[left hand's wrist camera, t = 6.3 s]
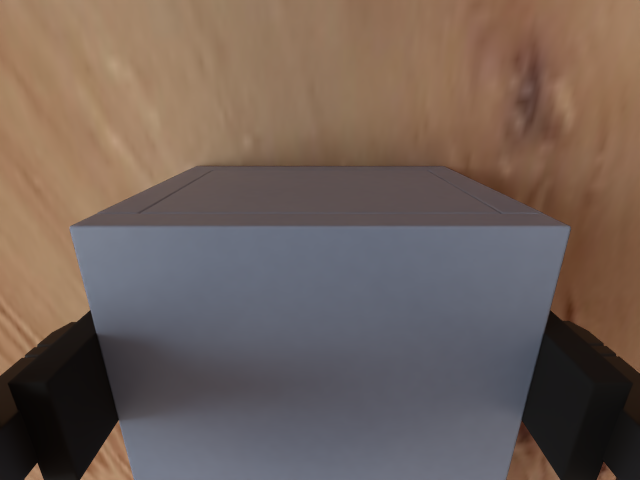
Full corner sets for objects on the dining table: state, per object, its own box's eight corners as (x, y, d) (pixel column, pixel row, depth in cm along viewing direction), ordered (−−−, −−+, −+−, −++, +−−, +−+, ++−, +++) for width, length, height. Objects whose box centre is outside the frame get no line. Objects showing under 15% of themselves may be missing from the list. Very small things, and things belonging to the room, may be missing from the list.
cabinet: (408, 470, 22) (457, 672, 14) (231, 469, 22) (182, 672, 14) (444, 165, 15) (573, 226, 8) (195, 165, 15) (67, 226, 7)
